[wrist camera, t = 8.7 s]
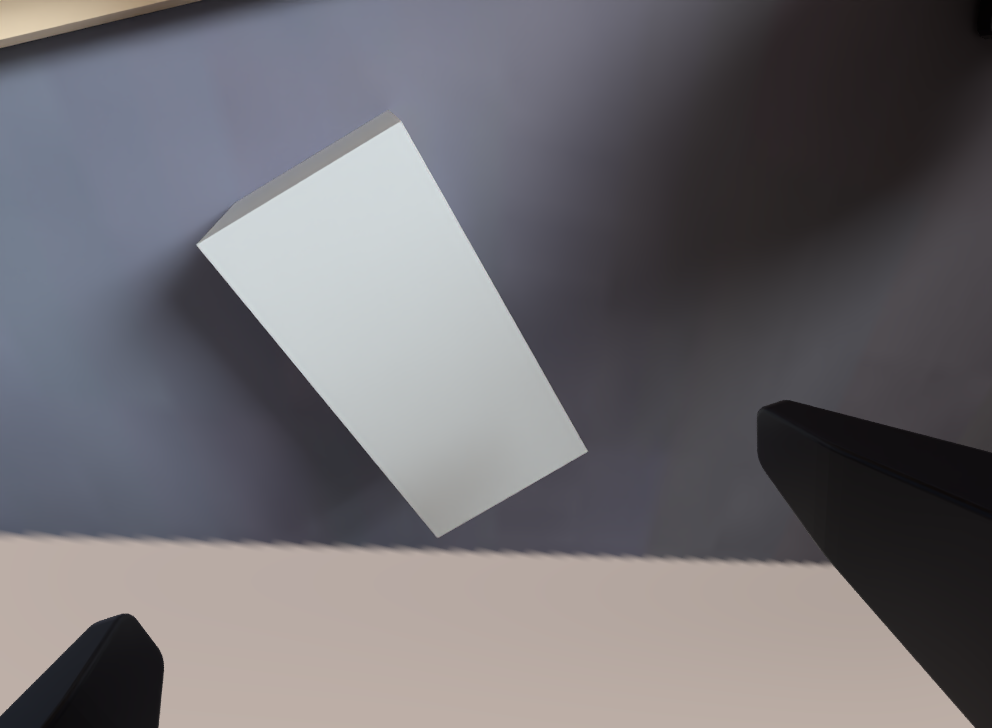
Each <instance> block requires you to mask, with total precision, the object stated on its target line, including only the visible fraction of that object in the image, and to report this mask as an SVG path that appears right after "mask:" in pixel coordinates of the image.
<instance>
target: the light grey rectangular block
mask: <svg viewBox="0 0 992 728" xmlns="http://www.w3.org/2000/svg"><path fill="white" fill-rule="evenodd" d="M197 246H198V247H199V249H200V250H201V251H202V252H203V254H204V255H205V256H206V257H207V258H208V260H209V261H210V262H211V263H212V265H213V266H214V267H215V268H216V269H217V271H218V272H219V273H220V274H221V275H222V277H223V278H224V279H225V280H226V282H227V283H228V284H229V285H230V286H231V288H232V289H233V290H234V291H235V292H236V294H237V295H238V296H239V297H240V299H241V300H242V301H243V302H244V303H245V305H246V306H247V307H248V308H249V310H250V311H251V312H252V313H253V314H254V316H255V317H256V318H257V319H258V320H259V322H260V323H261V324H262V325H263V327H264V328H265V329H266V330H267V331H268V333H269V334H270V335H271V336H272V337H273V339H274V340H275V341H276V342H277V344H278V345H279V346H280V347H281V348H282V350H283V351H284V352H285V353H286V355H287V356H288V357H289V358H290V359H291V361H292V362H293V363H294V364H295V365H296V367H297V368H298V369H299V370H300V372H301V373H302V374H303V375H304V376H305V378H306V379H307V380H308V381H309V382H310V384H311V385H312V386H313V387H314V389H315V390H316V391H317V392H318V393H319V395H320V396H321V397H322V398H323V400H324V401H325V402H326V403H327V404H328V406H329V407H330V408H331V409H332V410H333V412H334V413H335V414H336V415H337V417H338V418H339V419H340V420H341V421H342V423H343V424H344V425H345V426H346V427H347V429H348V430H349V431H350V432H351V434H352V435H353V436H354V437H355V438H356V440H357V441H358V442H359V443H360V445H361V446H362V447H363V448H364V449H365V451H366V452H367V453H368V454H369V455H370V457H371V458H372V459H373V460H374V462H375V463H376V464H377V465H378V466H379V468H380V469H381V470H382V471H383V472H384V474H385V475H386V476H387V477H388V479H389V480H390V481H391V482H392V483H393V485H394V486H395V487H396V488H397V490H398V491H399V492H400V493H401V494H402V496H403V497H404V498H405V499H406V500H407V502H408V503H409V504H410V505H411V507H412V508H413V509H414V510H415V511H416V513H417V514H418V515H419V516H420V517H421V519H422V520H423V521H424V522H425V524H426V525H427V526H428V527H429V528H430V530H431V531H432V532H433V533H434V534H435V536H436V537H437V538H439V537H440V536H442V535H444V534H446V533H447V532H449V531H451V530H453V529H454V528H456V527H458V526H460V525H461V524H463V523H465V522H466V521H468V520H470V519H472V518H473V517H475V516H477V515H479V514H480V513H482V512H484V511H486V510H487V509H489V508H491V507H493V506H494V505H496V504H498V503H499V502H501V501H503V500H505V499H506V498H508V497H510V496H512V495H513V494H515V493H517V492H519V491H520V490H522V489H524V488H526V487H527V486H529V485H531V484H532V483H534V482H536V481H538V480H539V479H541V478H543V477H545V476H546V475H548V474H550V473H552V472H553V471H555V470H557V469H559V468H560V467H562V466H564V465H565V464H567V463H569V462H571V461H572V460H574V459H576V458H578V457H579V456H581V455H583V454H585V453H586V452H588V451H587V449H586V447H585V446H584V444H583V442H582V440H581V439H580V437H579V435H578V433H577V432H576V430H575V428H574V426H573V424H572V423H571V421H570V419H569V417H568V416H567V414H566V412H565V410H564V409H563V407H562V405H561V403H560V401H559V400H558V398H557V396H556V394H555V393H554V391H553V389H552V387H551V385H550V384H549V382H548V380H547V378H546V377H545V375H544V373H543V371H542V370H541V368H540V366H539V364H538V362H537V361H536V359H535V357H534V355H533V354H532V352H531V350H530V348H529V347H528V345H527V343H526V341H525V339H524V338H523V336H522V334H521V332H520V331H519V329H518V327H517V325H516V324H515V322H514V320H513V318H512V316H511V315H510V313H509V311H508V309H507V308H506V306H505V304H504V302H503V301H502V299H501V297H500V295H499V293H498V292H497V290H496V288H495V286H494V285H493V283H492V281H491V279H490V278H489V276H488V274H487V272H486V270H485V269H484V267H483V265H482V263H481V262H480V260H479V258H478V256H477V255H476V253H475V251H474V249H473V247H472V246H471V244H470V242H469V240H468V239H467V237H466V235H465V233H464V232H463V230H462V228H461V226H460V224H459V223H458V221H457V219H456V217H455V216H454V214H453V212H452V210H451V209H450V207H449V205H448V203H447V201H446V200H445V198H444V196H443V194H442V193H441V191H440V189H439V187H438V186H437V184H436V182H435V180H434V178H433V177H432V175H431V173H430V171H429V170H428V168H427V166H426V164H425V163H424V161H423V159H422V157H421V155H420V154H419V152H418V150H417V148H416V147H415V145H414V143H413V141H412V140H411V138H410V136H409V134H408V132H407V131H406V129H405V127H404V125H403V124H402V122H401V121H400V120H399V119H398V118H397V117H396V116H395V115H394V114H393V113H391V112H390V111H389V110H387V111H386V112H384V113H382V114H381V115H379V116H377V117H376V118H374V119H372V120H371V121H369V122H367V123H366V124H364V125H362V126H361V127H359V128H357V129H356V130H354V131H353V132H351V133H349V134H348V135H346V136H344V137H343V138H341V139H339V140H338V141H336V142H334V143H333V144H331V145H329V146H328V147H326V148H324V149H323V150H321V151H320V152H318V153H316V154H315V155H313V156H311V157H310V158H308V159H306V160H305V161H303V162H301V163H300V164H298V165H296V166H295V167H293V168H291V169H290V170H288V171H287V172H285V173H283V174H282V175H280V176H278V177H277V178H275V179H273V180H272V181H270V182H268V183H267V184H265V185H263V186H262V187H260V188H258V189H257V190H255V191H254V192H252V193H250V194H249V195H247V196H245V197H244V198H242V199H240V200H239V201H237V202H235V204H234V205H233V206H232V207H231V208H230V209H229V210H228V211H227V212H226V213H225V214H224V215H223V216H222V218H221V219H220V220H219V221H218V222H217V223H216V224H215V225H214V226H213V227H212V228H211V229H210V231H209V232H208V233H207V234H206V235H205V236H204V237H203V238H202V239H201V240H200V241H199V242H198V243H197Z"/></svg>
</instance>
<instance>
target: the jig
mask: <svg viewBox="0 0 992 728" xmlns="http://www.w3.org/2000/svg"><path fill="white" fill-rule="evenodd" d="M197 1H201V0H0V48H3V47H7V46H12V45H16V44H20V43H24V42H28V41H33V40H37V39H41V38H45V37H49V36H54V35H58V34H62V33H66V32H71V31H75V30H79V29H83V28H87V27H92V26H96V25H100V24H104V23H108V22H113V21H117V20H121V19H125V18H129V17H134V16H138V15H142V14H146V13H150V12H155V11H159V10H163V9H167V8H171V7H176V6H180V5H184V4H188V3H193V2H197Z"/></svg>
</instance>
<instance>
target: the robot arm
mask: <svg viewBox="0 0 992 728" xmlns="http://www.w3.org/2000/svg"><path fill="white" fill-rule="evenodd" d="M977 27H978V33H979V35H980V36H981V37H982V38H984V39H992V0H981V1H980V8H979V16H978V23H977ZM757 452H758V458H759V461H760V464H761V466H762V468H763V469H764V471H765V472H766V474H767V475H768V476H769V478H770V479H771V481H772V482H773V484H774V485H775V486H776V488H777V489H778V491H779V492H780V493H781V495H782V496H783V498H784V499H785V501H786V502H787V503H788V505H789V506H790V508H791V509H792V510H793V512H794V513H795V515H796V516H797V518H798V519H799V520H800V522H801V523H802V525H803V526H804V527H805V529H806V530H807V532H808V533H809V535H810V536H811V537H812V539H813V540H814V542H815V543H816V544H817V546H818V547H819V548H820V550H821V551H822V552H823V554H824V555H825V556H826V557H827V558H828V560H829V561H830V562H831V563H832V564H833V566H834V567H835V568H836V569H837V570H838V571H839V573H840V574H841V575H842V576H843V577H844V578H845V579H846V581H847V582H848V583H849V584H850V585H851V586H852V587H853V588H854V590H855V591H856V592H857V593H858V594H859V595H860V597H861V598H862V599H863V600H864V601H865V602H866V603H867V605H868V606H869V607H870V608H871V609H872V610H873V611H874V613H875V614H876V615H877V616H878V617H879V618H880V619H881V621H882V622H883V623H884V624H885V625H886V626H887V627H888V629H889V630H890V631H891V632H892V633H893V634H894V635H895V637H896V638H897V639H898V640H899V641H900V642H901V643H902V645H903V646H904V647H905V648H906V649H907V650H908V652H909V653H910V654H911V655H912V656H913V657H914V658H915V660H916V661H917V662H918V663H919V664H920V665H921V666H922V667H923V669H924V670H925V671H926V672H927V673H928V674H929V675H930V677H931V678H932V679H933V680H934V681H935V682H936V683H937V685H938V686H939V687H940V688H941V689H942V690H943V692H944V693H945V694H946V695H947V696H948V697H949V698H950V699H951V701H952V702H953V703H954V704H955V705H956V706H957V708H958V709H959V710H960V711H961V712H962V713H963V714H964V716H965V717H966V718H967V719H968V720H969V721H970V722H971V724H972V725H973V726H974V727H975V728H992V453H991V452H987V451H983V450H980V449H976V448H972V447H968V446H964V445H960V444H956V443H953V442H949V441H945V440H941V439H937V438H933V437H929V436H926V435H922V434H918V433H914V432H910V431H906V430H902V429H898V428H895V427H891V426H887V425H883V424H879V423H875V422H871V421H868V420H864V419H860V418H856V417H852V416H848V415H844V414H840V413H837V412H833V411H829V410H825V409H821V408H817V407H813V406H810V405H806V404H802V403H798V402H794V401H790V400H783V401H779V402H776V403H773V404H770V405H767V406H764V407H762V408H761V409H760V410H759V411H758V414H757ZM163 673H164V661H163V658H162V654H161V652H160V650H159V648H158V647H157V646H156V644H155V643H154V642H153V641H152V639H151V638H150V636H149V635H148V634H147V632H146V631H145V630H144V629H143V627H142V626H141V625H140V623H139V622H138V621H137V619H136V618H135V617H134V616H132V615H130V614H120V615H117V616H114V617H110V618H107V619H104V620H101V621H99V622H96V623H94V624H93V625H91V626H90V627H89V628H88V629H87V630H86V631H85V632H84V633H83V634H82V635H81V636H80V637H79V638H78V639H77V640H76V641H75V642H74V643H73V644H72V645H71V646H70V647H69V648H68V649H67V650H66V651H65V652H64V653H63V654H62V655H61V656H60V657H59V658H58V659H57V660H56V661H55V662H54V663H53V664H52V665H51V666H50V667H49V668H48V669H47V670H46V671H45V672H44V673H43V674H42V675H41V676H40V677H39V678H38V679H37V680H36V681H35V682H34V683H33V684H32V685H31V686H30V687H29V688H28V689H27V690H26V691H25V692H24V693H23V694H22V695H21V696H20V697H19V698H18V699H17V700H16V701H15V702H14V703H13V704H12V705H11V706H10V707H9V708H8V709H7V710H6V711H5V712H4V713H3V714H2V715H1V716H0V728H158V726H159V715H160V706H161V694H162V684H163Z"/></svg>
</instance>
